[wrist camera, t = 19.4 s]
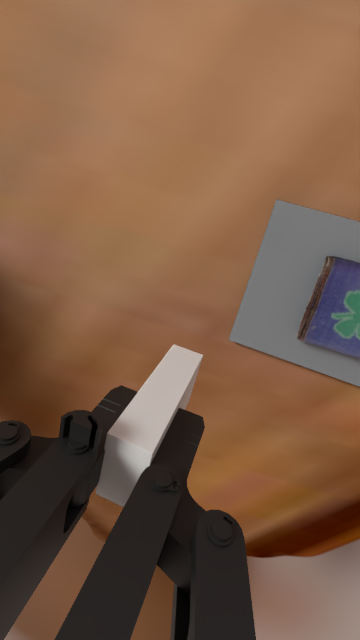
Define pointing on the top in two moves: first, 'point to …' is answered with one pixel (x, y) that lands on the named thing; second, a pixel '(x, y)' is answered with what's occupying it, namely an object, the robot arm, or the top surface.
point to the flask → (334, 308)
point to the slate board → (295, 287)
